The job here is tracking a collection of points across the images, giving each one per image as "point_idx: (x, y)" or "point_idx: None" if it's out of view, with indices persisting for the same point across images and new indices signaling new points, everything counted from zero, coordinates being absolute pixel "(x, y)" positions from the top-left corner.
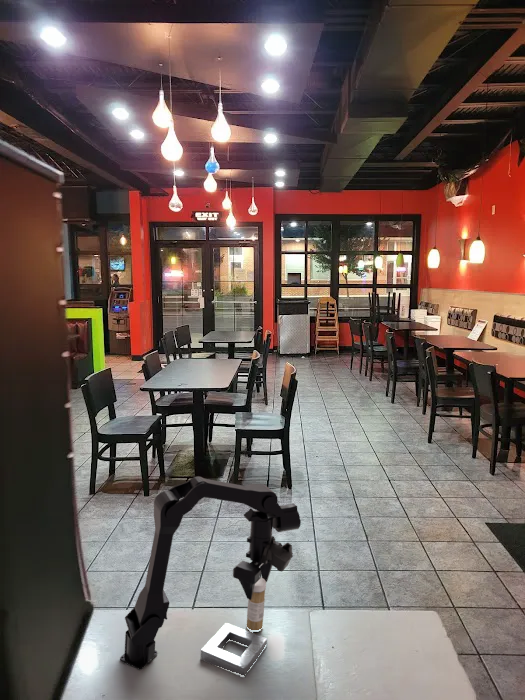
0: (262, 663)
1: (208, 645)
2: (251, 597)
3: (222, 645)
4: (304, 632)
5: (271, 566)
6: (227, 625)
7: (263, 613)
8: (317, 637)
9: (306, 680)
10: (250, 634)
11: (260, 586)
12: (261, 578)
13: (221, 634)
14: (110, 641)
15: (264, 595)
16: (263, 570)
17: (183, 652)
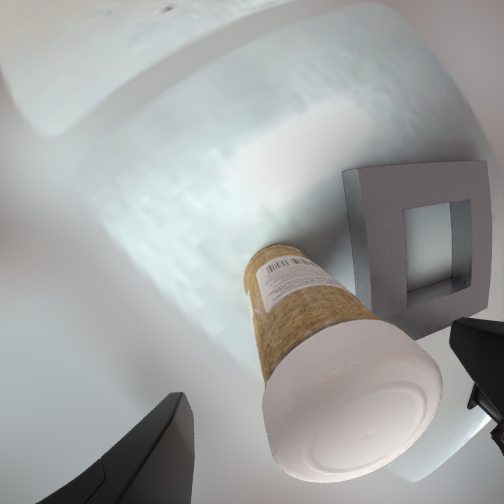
0: (404, 144)
1: (473, 307)
2: (475, 319)
3: (431, 290)
4: (156, 107)
5: (94, 500)
6: None
7: (278, 264)
8: (152, 60)
9: (360, 14)
10: (379, 241)
11: (428, 355)
12: (302, 446)
13: (427, 319)
14: (465, 431)
15: (306, 306)
16: (177, 497)
17: None
